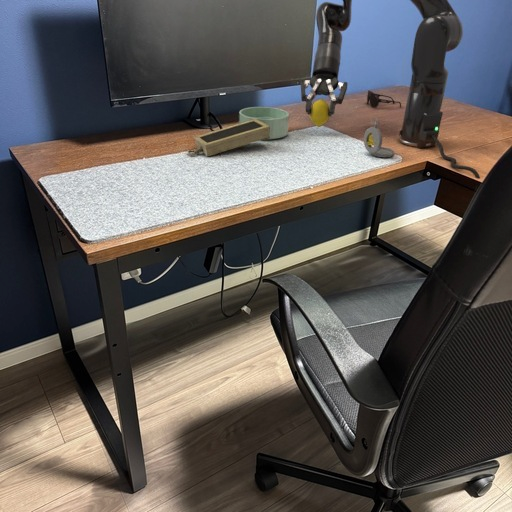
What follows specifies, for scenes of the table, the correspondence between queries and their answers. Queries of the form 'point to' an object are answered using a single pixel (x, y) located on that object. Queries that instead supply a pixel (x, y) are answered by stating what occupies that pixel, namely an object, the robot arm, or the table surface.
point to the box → (231, 137)
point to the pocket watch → (376, 142)
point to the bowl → (268, 119)
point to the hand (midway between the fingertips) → (319, 113)
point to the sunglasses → (377, 99)
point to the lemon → (319, 112)
